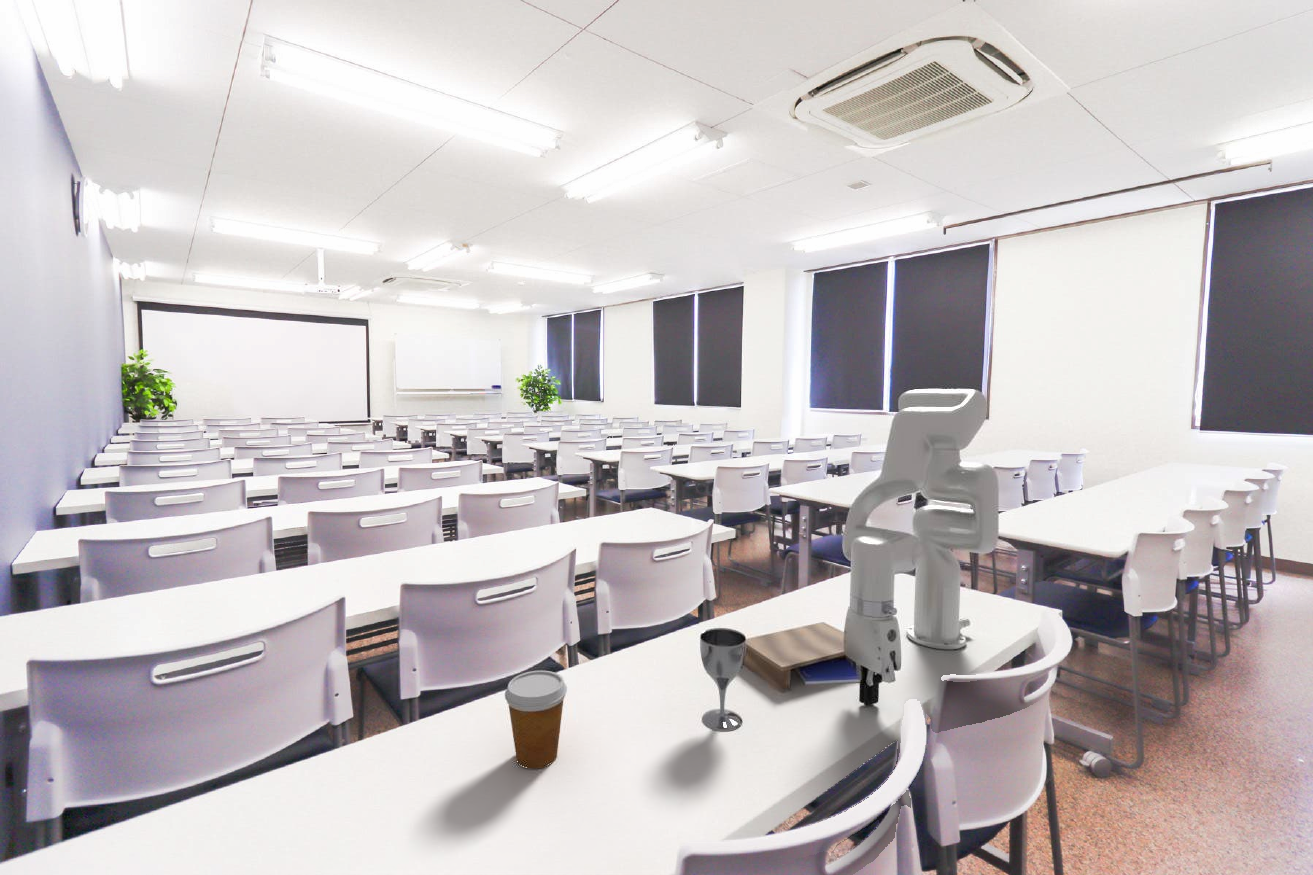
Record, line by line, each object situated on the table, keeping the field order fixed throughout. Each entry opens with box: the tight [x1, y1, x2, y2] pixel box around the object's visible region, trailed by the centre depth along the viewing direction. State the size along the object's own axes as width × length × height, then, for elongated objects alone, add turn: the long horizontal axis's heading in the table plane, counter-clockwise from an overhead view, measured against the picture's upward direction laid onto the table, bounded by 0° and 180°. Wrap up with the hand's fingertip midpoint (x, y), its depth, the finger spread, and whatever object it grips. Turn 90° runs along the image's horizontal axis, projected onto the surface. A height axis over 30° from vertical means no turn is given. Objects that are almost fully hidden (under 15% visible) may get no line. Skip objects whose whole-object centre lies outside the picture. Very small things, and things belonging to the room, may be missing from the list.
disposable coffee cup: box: [504, 670, 568, 770], centre depth 92 cm, size 10×10×12 cm
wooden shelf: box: [743, 621, 847, 693], centre depth 123 cm, size 23×14×5 cm, turn 116°
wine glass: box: [699, 627, 747, 732], centre depth 102 cm, size 8×8×15 cm
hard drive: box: [793, 659, 860, 685], centre depth 120 cm, size 2×8×12 cm
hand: (868, 701), depth 108 cm, fingers closed
